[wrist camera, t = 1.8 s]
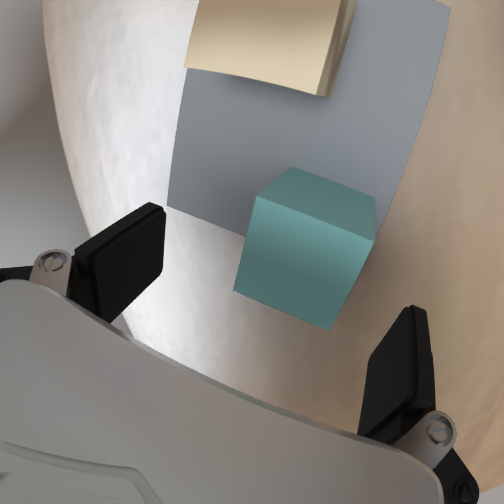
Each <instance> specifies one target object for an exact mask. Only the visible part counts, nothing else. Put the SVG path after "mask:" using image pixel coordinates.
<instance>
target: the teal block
mask: <svg viewBox="0 0 504 504" xmlns="http://www.w3.org/2000/svg"><path fill="white" fill-rule="evenodd" d="M374 232H375V201H374V197H371V196H369V195H367V194H364V193H362V192H359V191H357V190H354V189H352V188H349V187H347V186H344V185H342V184H339V183H336V182H334V181H331V180H328V179H326V178H323V177H320V176H318V175H315V174H312V173H309V172H307V171H304V170H301V169H298V168H295V167H291V168H290V169H289V170H288V171H286V172H285V173H284V174H283V175H281V176H280V177H279V178H278V179H277V180H275V181H274V182H273V183H272V184H270V185H269V186H268V187H267V188H266V189H264V190H263V191H262V192H261V193H260V194H258V195H257V196H256V200H255V204H254V208H253V212H252V216H251V220H250V224H249V228H248V232H247V236H246V240H245V244H244V248H243V252H242V256H241V260H240V264H239V268H238V272H237V276H236V281H235V285H234V289H233V291H236V292H238V293H240V294H243V295H245V296H247V297H249V298H252V299H254V300H256V301H259V302H261V303H263V304H266V305H268V306H270V307H273V308H275V309H278V310H280V311H282V312H285V313H287V314H289V315H292V316H294V317H297V318H299V319H302V320H304V321H306V322H309V323H311V324H314V325H316V326H319V327H321V328H324V329H326V330H330V328H331V326H332V325H333V323H334V321H335V319H336V317H337V315H338V314H339V312H340V310H341V308H342V306H343V304H344V302H345V301H346V299H347V297H348V295H349V293H350V291H351V289H352V287H353V285H354V283H355V281H356V279H357V277H358V275H359V273H360V271H361V269H362V267H363V265H364V263H365V261H366V259H367V257H368V255H369V252H370V250H371V248H372V246H373V244H374Z"/></svg>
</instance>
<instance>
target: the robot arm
mask: <svg viewBox="0 0 504 504" xmlns="http://www.w3.org/2000/svg"><path fill="white" fill-rule="evenodd" d="M165 225H166V213H165V212H164V209H163V207H162V206H159V205H156V204H154V203H151V202H148V203H146V204H144V205H143V206H141V207H139V208H138V209H136V210H135V211H133V212H131V213H130V214H128V215H126V216H125V217H123V218H122V219H120V220H118V221H117V222H115V223H114V224H112V225H111V226H109V227H107V228H106V229H104V230H103V231H101V232H100V233H98V234H97V235H95V236H94V237H92V238H91V239H89V240H88V241H86V242H85V243H83V244H82V245H80V246H79V247H77V248H76V249H75V255H74V256H72V257H71V255H70V254H69V253H68V252H66V251H64V250H61V249H53V250H48V251H45V252H44V253H42V254H40V255H39V256H38V258H37V259H36V260H35V263H34V266H24V267H13V268H1V269H0V504H477V501H478V498H479V488H478V484H477V482H476V480H475V479H474V477H473V476H472V475H471V473H470V472H469V470H468V469H467V467H466V466H465V464H464V463H463V462H462V460H461V459H460V457H459V456H458V455H457V453H456V452H455V450H454V449H453V448H452V446H453V445H454V443H455V441H456V437H457V431H456V427H455V424H454V422H453V421H452V419H451V418H450V417H449V416H448V415H447V414H446V413H444V412H442V411H437V410H436V405H435V381H434V367H433V356H432V352H431V345H430V336H429V328H428V320H427V313H426V310H424V309H422V308H419V307H417V306H414V305H411V306H410V307H409V308H408V307H405V308H404V309H403V310H402V312H401V313H400V315H399V316H398V318H397V319H396V321H395V322H394V323H393V325H392V326H391V328H390V329H389V331H388V332H387V334H386V335H385V336H384V338H383V339H382V340H381V342H380V343H379V345H378V346H377V347H376V349H375V350H374V351H373V353H372V354H371V356H370V358H369V361H368V367H367V375H366V383H365V390H364V397H363V403H362V410H361V415H360V421H359V427H358V432H357V435H356V434H353V433H350V432H347V431H344V430H341V429H338V428H335V427H332V426H329V425H326V424H323V423H320V422H317V421H314V420H311V419H308V418H306V417H303V416H300V415H297V414H295V413H292V412H289V411H286V410H284V409H281V408H279V407H276V406H274V405H271V404H269V403H266V402H264V401H261V400H259V399H256V398H254V397H252V396H249V395H247V394H245V393H242V392H240V391H238V390H235V389H233V388H231V387H229V386H226V385H224V384H222V383H220V382H218V381H216V380H213V379H211V378H209V377H207V376H205V375H203V374H201V373H199V372H197V371H195V370H193V369H191V368H189V367H187V366H185V365H183V364H181V363H179V362H177V361H175V360H173V359H171V358H169V357H167V356H165V355H164V354H162V353H160V352H158V351H156V350H154V349H152V348H151V347H149V346H147V345H145V344H143V343H142V342H140V341H138V340H136V339H134V338H133V337H131V336H129V335H128V334H126V333H124V332H122V331H121V330H119V329H117V328H116V327H114V326H112V325H111V324H110V323H111V322H112V321H113V320H114V319H115V318H116V317H117V316H118V315H119V314H120V313H121V312H122V311H123V310H124V309H125V308H127V307H128V306H129V305H130V304H131V303H132V302H133V301H134V300H135V299H136V298H137V297H138V296H139V295H140V294H141V293H142V292H143V291H144V290H145V289H146V288H147V287H148V286H149V285H150V284H151V283H152V282H153V281H154V280H155V279H156V278H157V277H159V275H160V274H161V272H162V269H163V256H164V239H165Z"/></svg>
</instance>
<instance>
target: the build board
mask: <svg viewBox="0 0 504 504" xmlns="http://www.w3.org/2000/svg"><path fill="white" fill-rule="evenodd" d="M356 2H357V4H356V8H355V12H354V16H353V20H352V24H351V27H350V31H349V35H348V39H347V42H346V46H345V50H344V54H343V57H342V61H341V64H340V68H339V72H338V75H337V79H336V82H335V86H334V89H333V93H332V96H331V98H329V97H324V96H318V95H314V94H311V93H307V92H304V91H300V90H296V89H293V88H289V87H285V86H281V85H277V84H273V83H269V82H265V81H260V80H256V79H251V78H246V77H241V76H236V75H231V74H225V73H220V72H214V71H207V70H201V69H194V68H188V69H187V74H186V79H185V84H184V89H183V94H182V100H181V106H180V111H179V117H178V123H177V130H176V136H175V143H174V150H173V157H172V165H171V172H170V181H169V189H168V198H167V206H169V207H172V208H174V209H177V210H179V211H182V212H185V213H187V214H190V215H192V216H195V217H197V218H200V219H203V220H205V221H208V222H210V223H213V224H215V225H218V226H220V227H223V228H225V229H228V230H230V231H233V232H236V233H238V234H241V235H243V236H247V232H248V228H249V224H250V220H251V216H252V212H253V208H254V204H255V200H256V196H257V195H258V194H260V193H261V192H262V191H263V190H264V189H266V188H267V187H268V186H269V185H270V184H272V183H273V182H274V181H275V180H277V179H278V178H279V177H280V176H281V175H283V174H284V173H285V172H286V171H288V170H289V169H290V168H291V167H295V168H298V169H301V170H304V171H307V172H309V173H312V174H315V175H318V176H320V177H323V178H326V179H328V180H331V181H334V182H336V183H339V184H342V185H344V186H347V187H349V188H352V189H354V190H357V191H359V192H362V193H364V194H367V195H369V196H371V197H374V201H375V232H374V240H375V238H376V236H377V234H378V232H379V229H380V227H381V225H382V223H383V220H384V218H385V216H386V213H387V211H388V209H389V206H390V204H391V202H392V199H393V197H394V194H395V192H396V189H397V187H398V184H399V182H400V179H401V177H402V174H403V172H404V169H405V166H406V164H407V161H408V158H409V156H410V153H411V150H412V147H413V145H414V142H415V139H416V136H417V133H418V130H419V127H420V124H421V121H422V118H423V115H424V112H425V109H426V106H427V102H428V99H429V96H430V92H431V89H432V86H433V82H434V79H435V75H436V71H437V67H438V64H439V60H440V56H441V52H442V48H443V43H444V39H445V35H446V30H447V25H448V20H449V15H450V10H451V8H450V7H448V6H446V5H444V4H442V3H439V2H437V1H435V0H356Z"/></svg>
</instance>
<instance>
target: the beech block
mask: <svg viewBox="0 0 504 504" xmlns="http://www.w3.org/2000/svg"><path fill="white" fill-rule="evenodd" d="M356 4H357V2H356V0H199V4H198V8H197V12H196V16H195V20H194V24H193V28H192V32H191V36H190V41H189V45H188V50H187V54H186V59H185V64H184V67H186V68H194V69H201V70H207V71H214V72H220V73H225V74H231V75H236V76H241V77H246V78H251V79H256V80H260V81H265V82H269V83H273V84H277V85H281V86H285V87H289V88H293V89H296V90H300V91H304V92H307V93H311V94H314V95H318V96H324V97H329V98H331V96H332V93H333V89H334V86H335V82H336V79H337V75H338V72H339V68H340V64H341V61H342V57H343V54H344V50H345V46H346V42H347V39H348V35H349V31H350V27H351V24H352V20H353V16H354V12H355V8H356Z"/></svg>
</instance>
